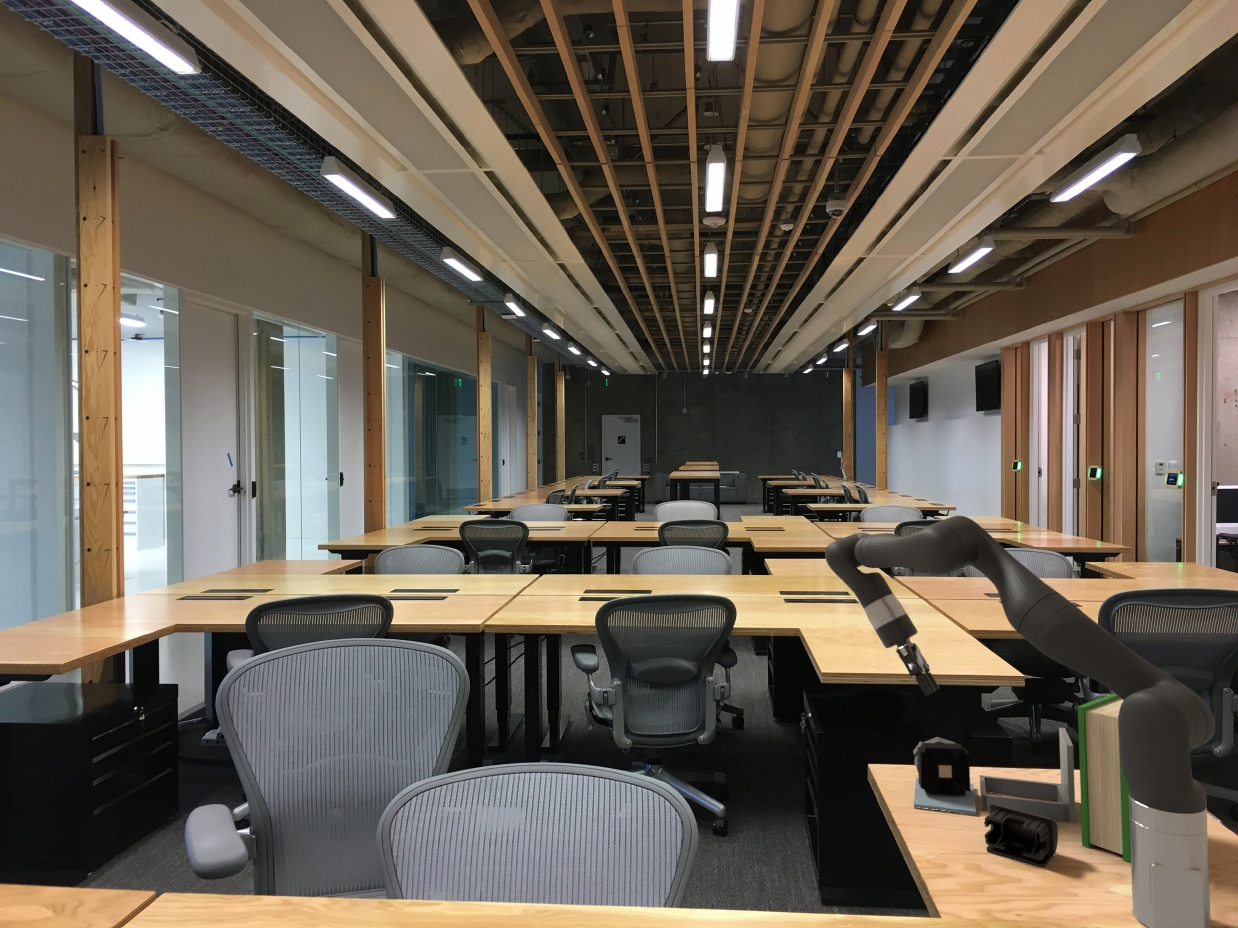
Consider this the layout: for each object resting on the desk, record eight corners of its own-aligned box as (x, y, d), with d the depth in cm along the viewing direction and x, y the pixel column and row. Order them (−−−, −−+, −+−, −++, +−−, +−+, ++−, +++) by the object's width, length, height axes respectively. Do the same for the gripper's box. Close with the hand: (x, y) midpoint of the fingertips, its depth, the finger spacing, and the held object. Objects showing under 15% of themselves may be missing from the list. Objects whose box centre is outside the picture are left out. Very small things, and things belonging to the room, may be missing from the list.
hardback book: (1129, 862, 131) (1124, 716, 131) (1082, 845, 137) (1077, 706, 138) (1176, 833, 141) (1171, 697, 141) (1131, 819, 147) (1126, 688, 147)
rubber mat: (976, 815, 150) (975, 811, 150) (913, 807, 154) (913, 803, 154) (973, 787, 163) (973, 783, 163) (916, 781, 167) (916, 777, 167)
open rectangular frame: (1075, 822, 146) (1073, 745, 147) (982, 810, 152) (980, 737, 152) (1067, 799, 156) (1064, 728, 156) (980, 789, 162) (977, 720, 162)
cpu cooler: (967, 787, 161) (965, 737, 162) (974, 798, 156) (972, 746, 156) (913, 785, 163) (912, 735, 163) (918, 796, 158) (917, 745, 158)
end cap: (1059, 854, 135) (1057, 813, 135) (1046, 869, 130) (1045, 828, 130) (997, 836, 142) (996, 798, 142) (982, 851, 137) (981, 811, 137)
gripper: (901, 611, 161) (947, 686, 155) (910, 612, 174) (952, 681, 168) (868, 629, 164) (912, 703, 158) (879, 628, 176) (920, 697, 170)
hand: (933, 692), depth 163 cm, fingers open, 8 cm apart
